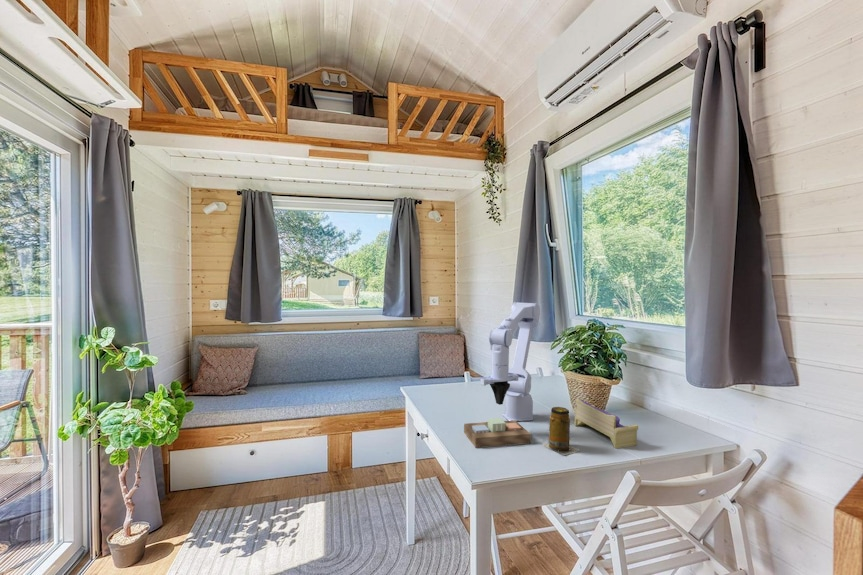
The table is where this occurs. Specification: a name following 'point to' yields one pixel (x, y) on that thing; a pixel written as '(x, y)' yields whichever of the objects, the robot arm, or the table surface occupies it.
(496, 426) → the sage key
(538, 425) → the table surface
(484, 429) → the slate key
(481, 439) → the brown wooden tray
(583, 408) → the toy sofa
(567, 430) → the condiment
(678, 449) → the table surface
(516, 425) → the terracotta key
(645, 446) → the table surface
